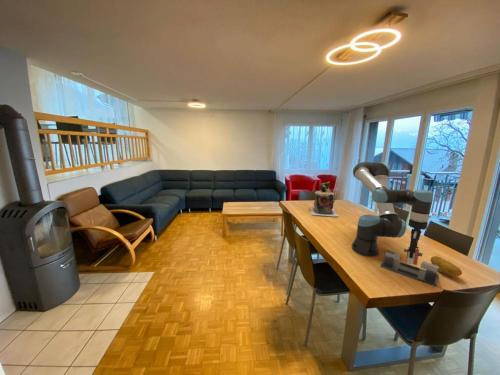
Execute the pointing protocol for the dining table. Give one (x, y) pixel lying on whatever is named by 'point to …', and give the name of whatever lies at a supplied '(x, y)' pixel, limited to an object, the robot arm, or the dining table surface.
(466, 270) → the dining table surface
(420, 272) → the bench
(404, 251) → the coupling
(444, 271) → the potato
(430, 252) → the dining table surface
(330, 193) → the cookie jar
